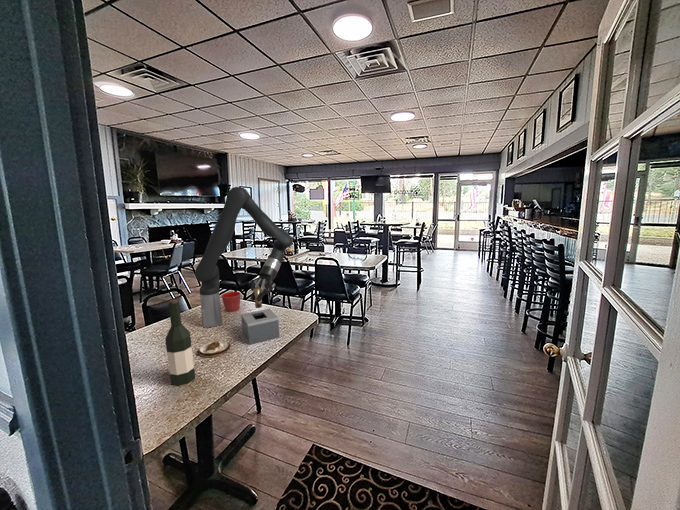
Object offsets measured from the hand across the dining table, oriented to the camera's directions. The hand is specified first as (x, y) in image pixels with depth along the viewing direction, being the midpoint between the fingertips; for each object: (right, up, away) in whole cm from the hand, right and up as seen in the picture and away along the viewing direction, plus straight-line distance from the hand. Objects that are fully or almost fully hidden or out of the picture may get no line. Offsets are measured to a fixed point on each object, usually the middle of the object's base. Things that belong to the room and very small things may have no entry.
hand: (255, 300), depth 139 cm
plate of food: (-15, -21, -8) cm, 27 cm away
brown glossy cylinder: (+1, -4, +3) cm, 4 cm away
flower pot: (-25, -12, +41) cm, 50 cm away
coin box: (+1, -18, +5) cm, 18 cm away
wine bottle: (-18, -25, -29) cm, 42 cm away
